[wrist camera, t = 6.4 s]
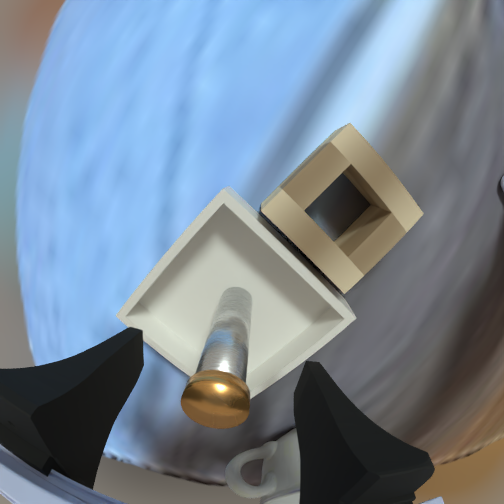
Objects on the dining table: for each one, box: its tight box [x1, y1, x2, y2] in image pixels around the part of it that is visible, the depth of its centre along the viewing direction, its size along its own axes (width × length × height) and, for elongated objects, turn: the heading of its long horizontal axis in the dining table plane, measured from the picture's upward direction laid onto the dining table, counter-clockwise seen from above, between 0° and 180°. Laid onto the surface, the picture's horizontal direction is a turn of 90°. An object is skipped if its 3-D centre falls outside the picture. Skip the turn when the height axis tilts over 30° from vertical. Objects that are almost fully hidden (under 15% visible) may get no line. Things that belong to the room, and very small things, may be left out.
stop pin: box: [181, 287, 253, 429], centre depth 13 cm, size 2×2×9 cm
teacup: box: [225, 428, 300, 504], centre depth 17 cm, size 14×11×8 cm
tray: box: [116, 186, 356, 399], centre depth 16 cm, size 10×10×2 cm
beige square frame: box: [261, 123, 423, 294], centre depth 14 cm, size 6×6×3 cm
